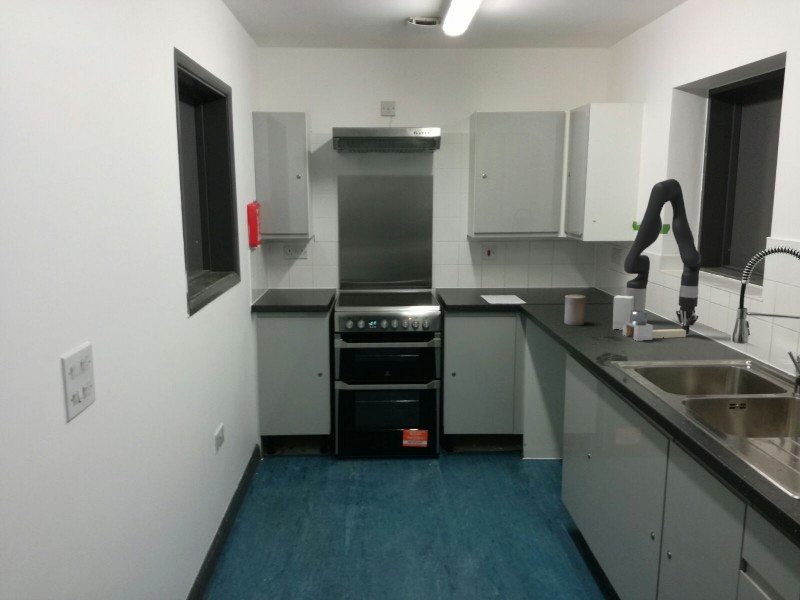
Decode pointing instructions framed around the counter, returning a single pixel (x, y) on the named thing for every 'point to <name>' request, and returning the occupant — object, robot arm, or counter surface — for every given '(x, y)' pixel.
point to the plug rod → (669, 333)
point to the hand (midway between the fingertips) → (685, 333)
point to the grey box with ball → (638, 326)
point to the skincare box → (622, 310)
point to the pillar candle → (575, 309)
